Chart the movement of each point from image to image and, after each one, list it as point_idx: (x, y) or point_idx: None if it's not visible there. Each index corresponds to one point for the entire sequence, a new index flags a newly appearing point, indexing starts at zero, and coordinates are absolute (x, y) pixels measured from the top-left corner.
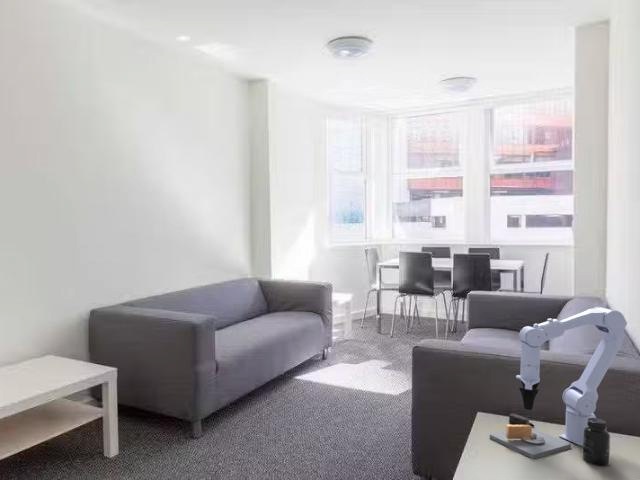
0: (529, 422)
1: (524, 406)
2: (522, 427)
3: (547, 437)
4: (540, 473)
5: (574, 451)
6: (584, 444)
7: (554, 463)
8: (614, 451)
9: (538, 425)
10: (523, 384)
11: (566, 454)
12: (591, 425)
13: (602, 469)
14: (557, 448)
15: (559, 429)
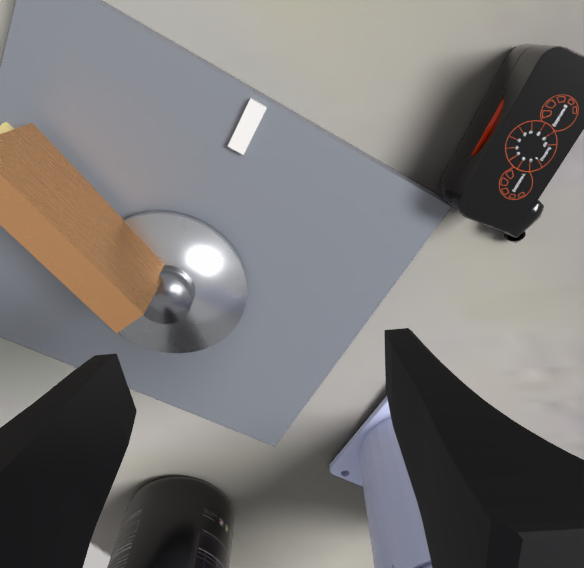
0: (533, 214)
1: (76, 372)
2: (57, 271)
3: (288, 347)
4: None
5: (237, 444)
6: (126, 551)
7: (5, 388)
8: (355, 552)
9: (563, 256)
10: (465, 494)
11: (168, 420)
12: None
13: (117, 525)
14: (165, 399)
15: (541, 367)
